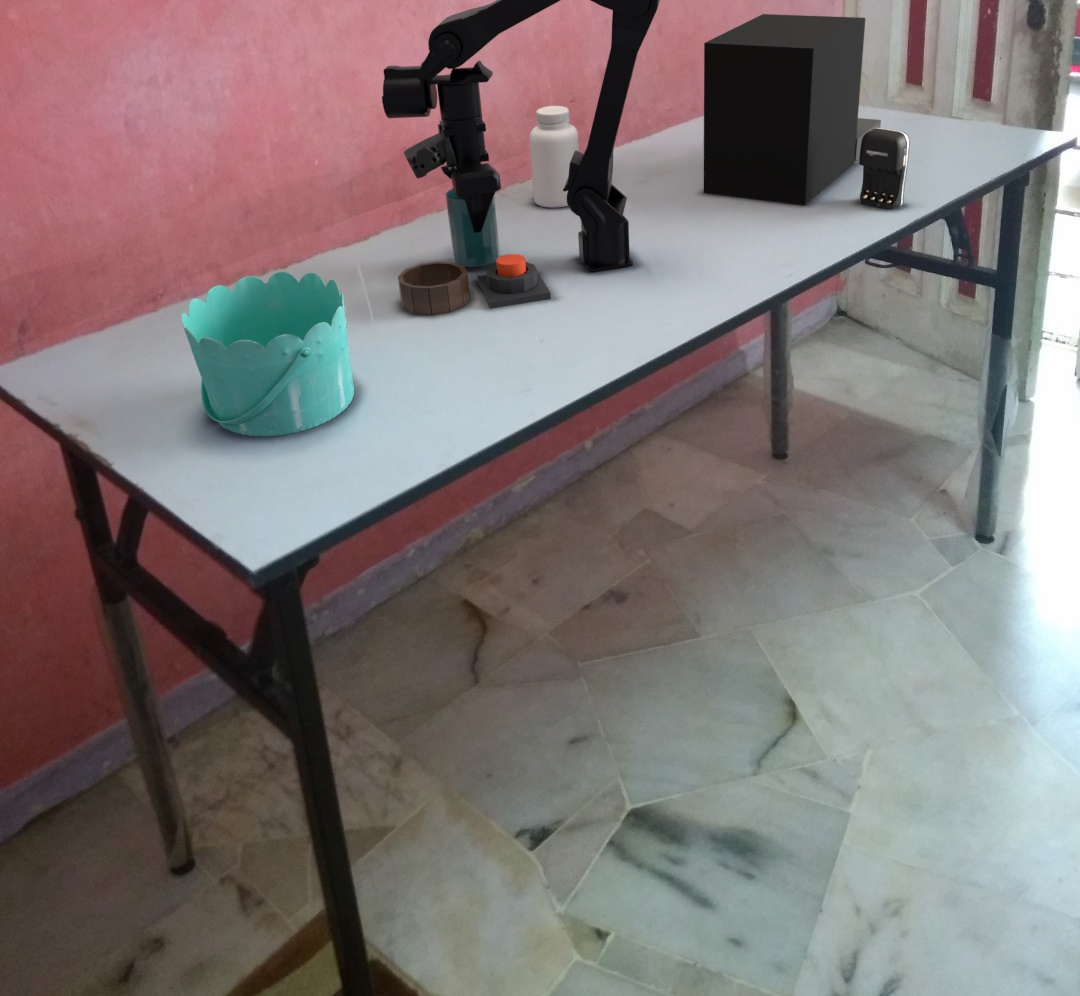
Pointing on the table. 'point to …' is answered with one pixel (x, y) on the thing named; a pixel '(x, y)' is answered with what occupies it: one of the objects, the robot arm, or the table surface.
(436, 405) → the table surface
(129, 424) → the table surface
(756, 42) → the matte black box
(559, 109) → the pill bottle
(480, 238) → the cup
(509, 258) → the release button
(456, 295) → the stave barrel planter
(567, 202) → the robot arm
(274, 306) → the basket
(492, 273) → the button housing
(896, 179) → the battery charger
